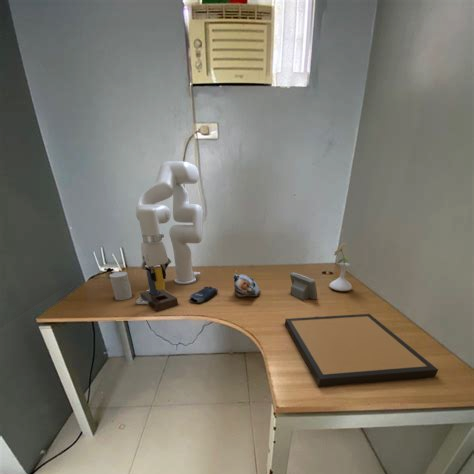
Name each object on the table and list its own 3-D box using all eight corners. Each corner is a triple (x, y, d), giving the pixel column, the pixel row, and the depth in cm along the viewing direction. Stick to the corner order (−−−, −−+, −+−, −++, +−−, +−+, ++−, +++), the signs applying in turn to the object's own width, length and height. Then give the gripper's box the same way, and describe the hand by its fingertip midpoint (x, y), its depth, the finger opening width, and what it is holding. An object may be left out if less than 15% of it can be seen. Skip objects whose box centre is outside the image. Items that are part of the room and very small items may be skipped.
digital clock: (318, 300, 124) (321, 279, 119) (302, 302, 121) (305, 281, 116) (300, 288, 137) (302, 269, 132) (285, 291, 135) (287, 271, 130)
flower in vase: (339, 284, 143) (348, 238, 131) (356, 290, 134) (366, 242, 122) (321, 288, 138) (329, 241, 126) (337, 295, 129) (347, 245, 117)
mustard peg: (162, 286, 120) (159, 265, 116) (166, 288, 118) (163, 267, 113) (154, 288, 118) (150, 267, 113) (158, 290, 115) (154, 269, 111)
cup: (126, 300, 126) (120, 277, 120) (111, 299, 127) (105, 276, 122) (135, 294, 133) (130, 272, 127) (121, 293, 134) (116, 271, 129)
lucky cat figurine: (265, 294, 130) (263, 276, 119) (247, 308, 127) (243, 290, 116) (247, 279, 138) (243, 260, 127) (230, 291, 135) (224, 273, 124)
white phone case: (151, 304, 121) (161, 292, 134) (150, 301, 120) (160, 290, 134) (136, 304, 122) (147, 292, 135) (135, 301, 121) (147, 289, 134)
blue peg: (157, 297, 129) (153, 268, 122) (161, 299, 126) (156, 270, 119) (150, 299, 127) (144, 270, 120) (153, 301, 124) (148, 272, 117)
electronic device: (202, 293, 136) (185, 300, 123) (204, 283, 134) (186, 289, 121) (217, 298, 133) (201, 306, 120) (219, 288, 131) (203, 295, 118)
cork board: (318, 386, 71) (434, 377, 74) (320, 379, 70) (438, 369, 73) (285, 324, 103) (367, 319, 106) (285, 318, 101) (369, 313, 104)
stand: (161, 293, 133) (160, 287, 132) (178, 304, 121) (177, 298, 119) (141, 299, 127) (139, 292, 126) (156, 311, 115) (155, 304, 113)
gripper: (166, 234, 114) (171, 273, 123) (129, 240, 105) (137, 281, 114) (174, 237, 109) (179, 277, 118) (135, 243, 100) (144, 286, 109)
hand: (158, 279), depth 116 cm, fingers closed on mustard peg, 4 cm apart
